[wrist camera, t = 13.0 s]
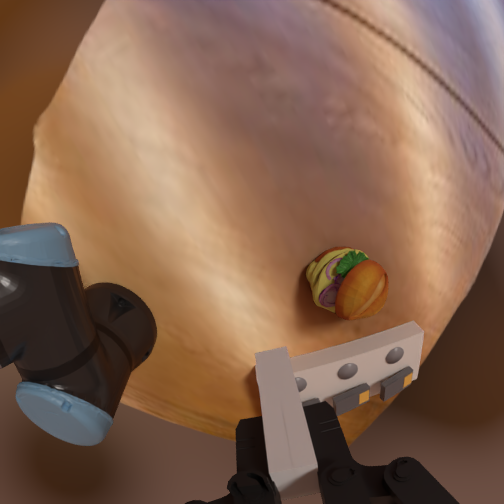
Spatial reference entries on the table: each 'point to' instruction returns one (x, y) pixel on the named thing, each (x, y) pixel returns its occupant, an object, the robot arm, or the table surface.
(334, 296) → the cheeseburger
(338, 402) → the rocker middle
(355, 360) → the rocker switch panel
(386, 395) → the rocker right
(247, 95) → the table surface
